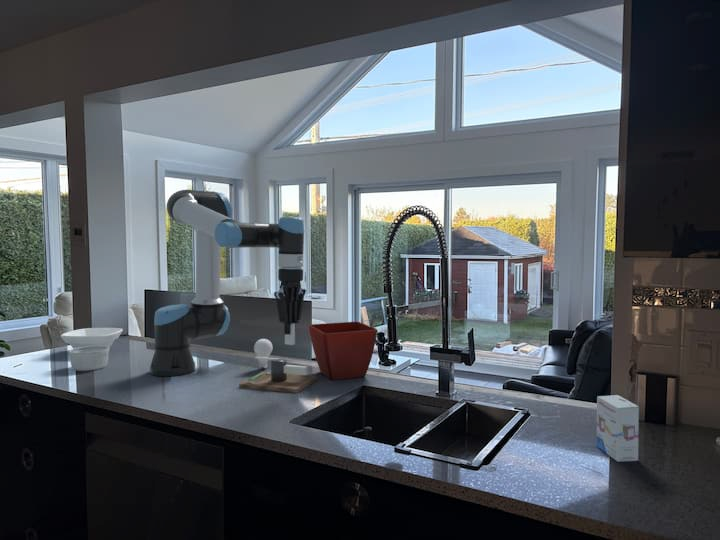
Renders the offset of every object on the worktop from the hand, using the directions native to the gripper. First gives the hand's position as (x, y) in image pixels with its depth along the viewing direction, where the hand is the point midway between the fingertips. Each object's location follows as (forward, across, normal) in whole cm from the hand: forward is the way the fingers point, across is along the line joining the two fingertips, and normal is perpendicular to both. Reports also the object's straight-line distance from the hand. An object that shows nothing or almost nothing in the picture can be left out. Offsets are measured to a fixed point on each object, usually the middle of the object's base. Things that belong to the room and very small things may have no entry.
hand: (289, 344), depth 157 cm
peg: (+13, +5, +7) cm, 16 cm away
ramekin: (+17, -14, +82) cm, 85 cm away
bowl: (+18, +2, +106) cm, 108 cm away
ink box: (+12, 0, -91) cm, 92 cm away
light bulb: (+16, +17, +26) cm, 35 cm away
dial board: (+15, +5, +8) cm, 18 cm away
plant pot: (+15, +25, -3) cm, 30 cm away
